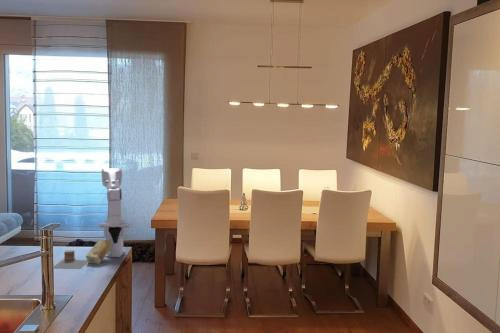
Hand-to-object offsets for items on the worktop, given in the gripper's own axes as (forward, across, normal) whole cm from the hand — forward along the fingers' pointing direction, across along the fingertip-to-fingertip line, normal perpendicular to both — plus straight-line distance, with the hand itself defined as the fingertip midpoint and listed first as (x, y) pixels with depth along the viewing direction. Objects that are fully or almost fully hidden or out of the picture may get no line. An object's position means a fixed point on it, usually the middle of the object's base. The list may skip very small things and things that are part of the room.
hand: (115, 242), depth 223 cm
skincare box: (+8, -11, -1) cm, 14 cm away
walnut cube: (+10, -24, +5) cm, 26 cm away
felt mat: (+10, -20, -2) cm, 23 cm away
